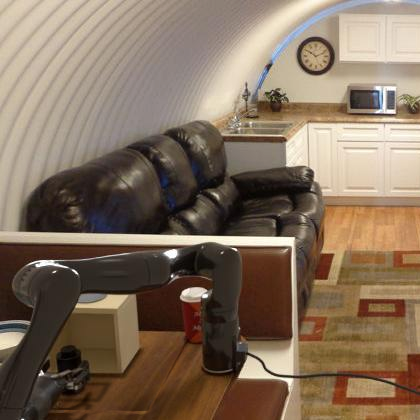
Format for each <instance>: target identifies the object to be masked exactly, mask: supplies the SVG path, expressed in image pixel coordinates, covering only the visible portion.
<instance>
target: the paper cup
mask: <svg viewBox="0 0 420 420" xmlns="http://www.w3.org/2000/svg"><path fill="white" fill-rule="evenodd" d="M206 291H208V290H207V289H205V287H197V286H196V287H188V288H186V289H184V290H182V291H181V294H180V296H179V299H180V300H181V309H182V316H183V317H182V318H183V325H184V334H185V338H186V341H187V342H188V343H192V344H193V343H194V344H196V343H202V328H201V296H202V294H203V293H205V292H206Z"/></svg>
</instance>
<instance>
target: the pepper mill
mask: <svg viewBox="0 0 420 420" xmlns="http://www.w3.org/2000/svg"><path fill="white" fill-rule="evenodd" d="M56 362H57V371H58V372H57V373H62V372H64V371H66V370H74V369H76V368H77V367H78V366H79V365H80V364H81V363H82V357H81V351H80V350H79V349H76V347H75V346H73V345H68V346H64V347H62V348H61V349H60V352H59V353H57V355H56ZM76 376H77V373H76V374H74V377H76ZM65 378H66V379H67V381H68V375H67V376H65ZM84 389H85V386H84V387H83V388H82V390H81V391H83V390H84ZM81 391H80V392H81ZM75 394H76V393H74V389H67V390H66V391H64V392H62V394H61V395H66V396H68V395H75Z"/></svg>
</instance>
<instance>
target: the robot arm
mask: <svg viewBox="0 0 420 420" xmlns="http://www.w3.org/2000/svg"><path fill="white" fill-rule="evenodd" d="M189 277H200V278H204V279H207V280H209V281H212V285H211V289H208V290H207V291H206V292H205V293H203V294H202V296H201V328H202V341H201V350H202V351H201V352H202V353H201V354H202V355H201V356H202V364H201V365H202V370H203V371H204V372H205V373H208V374H210V375H218V376H219V375H227V374H231V373H235V372H238V371H239V368H240V366H241V363H246V361H247V358H248V357H251V358H253V359H255V360H257V361H258V362H259V363H260V364H261V366H262V369H263V370H264V372H266V373H267V374H269V375H271V376H272V377H275V378H276V377H277V378H284V379H296V380H297V379H298V380H299V379H310V378H322V377H324V378H325V377H348V378H350V377H351V378H359V379H367V380H372V381H376V382H381V383H384V384H388V385H390V386H394V387H396V388H399V389H401V390H405V391H407V392H409V393H413V394H415V395H419V396H420V391H419V390H416V389H413V388H411V387H408V386H405V385H403V384H398V383H397V382H394V381H391V380H387V379H385V378H380V377H376V376H372V375H371V376H370V375H365V374H360V373H359V374H358V373H346V372H332V373H331V372H330V373H311V374H303V375H297V374H296V375H294V374H281V373H276V372H274V371H272V370H270V369H268V368H267V366H266V363H265V362H264V360H263V359H262V358H260V357H259V356H257V355H256V354H253V353H251V352H249V343H248V342H246V343H245V342H243V343H242V328H241V327H240V317H239V316H240V315H239V314H240V313H239V311H240V309H239V299H240V297H241V294H242V285H243V284H242V282H243V259H242V255H241V252H240V251H239V250H238V249H237V248H235V247H232V246H229V245H226V244H223V243H219V242H216V241H205V242H201V243H197V244H193V245H189V246H185V247H179V248H164V249H154V250H153V249H152V250H140V251H132V252H126V253H120V254H119V253H118V254H112V255H105V256H100V257H99V256H98V257H93V258H85V259H70V260H69V259H58V260H57V259H56V260H55V259H54V260H53V259H46V260H45V259H43V260H41V259H40V260H35V261H33V262H30V263H28V264H25V266H23V267H22V268H21V269H19V270H18V271H17V272H16V274H15V276H14V277H13V280H12V284H11V289H12V292H13V294H14V296H15V297H16V299H18V301H20V302H21V303H22V304H24V305H26V306H28V307H30V308H32V309H33V310H32V316H31V318H30V322H29V324H28V327H27V329H26V331H25V333H24V334H23V337H22V338H21V339H20V341H19V342H18V343H17V345H16V346H15V347H14V348H13V350H12V351H11V352H10V353H9V354H8V356H7V357H5V359H4V360H3V361H2V362H1V364H0V420H43V419H44V418H45V417H46V416H47V415H48V413H49V412H50V411H51V410H52V409H53V408H54V406H55V405H56V404H57V403H58V401H59V400H60V397H61V395H63V394H62V392H64V391H66V390H67V389H74V393H75V394H78V393H80V392H81V390H82V388H83V387H84V388H85V386H86V385H87V384H88V383H89V382H90V381H91V373H90V369H89V362H88V361H87V360H83V361H82V363H81V364H80V365H79V366H78V367H77V368H76V369H74V370H66V371H64V372H62V373H58V372H47V370H48V369H49V368H50V360H49V359H47V357H48V355H49V353H50V351H51V350H52V348H53V346H54V344H55V342H56V341H57V339H58V337H59V335H60V333H61V332H62V330H63V328H64V326H65V324H66V323H67V321H68V319H69V317H70V316H71V314H72V312H73V310H74V308H75V307H76V305H77V303H78V301H79V298H80V296H81V294H105V295H135V294H136V295H141V294H147V293H153V292H156V291H160V290H163V289H165V287H167V286H168V285H170V284H171V283H172V282H173V281H175V280H177V279H180V278H189ZM76 373H77V376H76V377H74V374H76ZM67 375H68V381H67V379H66V378H65V376H67ZM82 391H83V390H82Z"/></svg>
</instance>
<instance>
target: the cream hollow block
mask: <svg viewBox="0 0 420 420" xmlns="http://www.w3.org/2000/svg"><path fill="white" fill-rule="evenodd" d="M68 345H73V346H75V347H76V349H79V350H80V351H81V357H82V361H83V360H87V361H88V362H89V369H90V374H123V373H124V371H125V370H126V368H127V367H128V366H129V364H130V363H131V361H132V360H133V358H134V357H135V355H136V354H137V352H138V351H139V349H140V348H141V347H140V334H139V318H138V304H137V294H135V295H105V294H81V296H80V298H79V301H78V303H77V305H76V307H75V308H74V310H73V312H72V314H71V316H70V317H69V319H68V321H67V323H66V324H65V326H64V328H63V330H62V332H61V333H60V335H59V337H58V339H57V341H56V342H55V344H54V346H53V348H52V350H51V351H50V353H49V355H48V357H47V359H49V360H50V368H49V369H48V370H47V371H46V373H58V371H57V362H56V355H57V353H59V352H60V349H61V348H62V347H64V346H68Z"/></svg>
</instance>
